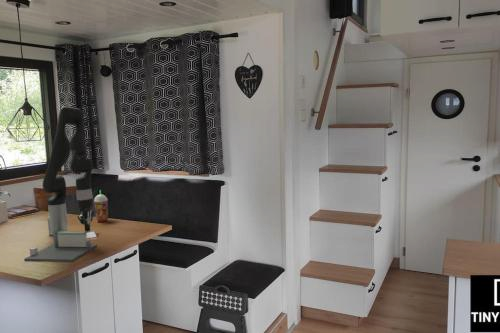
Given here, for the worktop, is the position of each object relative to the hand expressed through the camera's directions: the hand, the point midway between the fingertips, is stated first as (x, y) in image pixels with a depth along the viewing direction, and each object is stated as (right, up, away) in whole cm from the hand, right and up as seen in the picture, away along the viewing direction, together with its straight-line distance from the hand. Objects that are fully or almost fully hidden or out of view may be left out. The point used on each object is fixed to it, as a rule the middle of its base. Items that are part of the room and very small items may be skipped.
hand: (87, 231), depth 221 cm
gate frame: (-9, -9, -10) cm, 16 cm away
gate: (-6, -7, -5) cm, 10 cm away
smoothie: (-10, -2, +52) cm, 54 cm away
